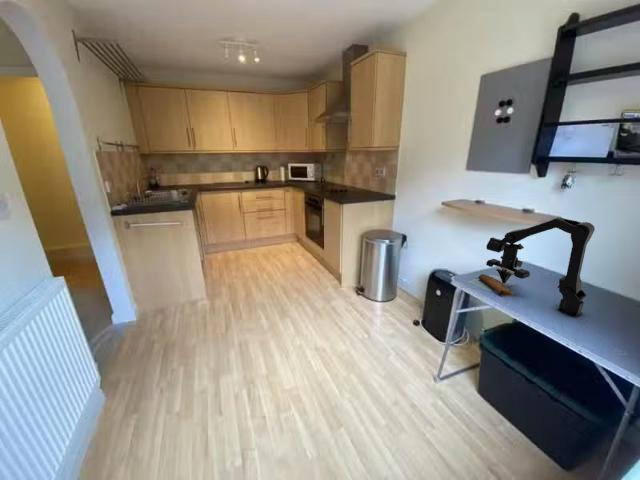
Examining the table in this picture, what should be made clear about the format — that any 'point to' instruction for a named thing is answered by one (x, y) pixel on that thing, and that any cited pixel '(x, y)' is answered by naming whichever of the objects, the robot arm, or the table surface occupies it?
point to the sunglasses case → (496, 285)
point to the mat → (485, 286)
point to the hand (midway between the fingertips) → (503, 283)
